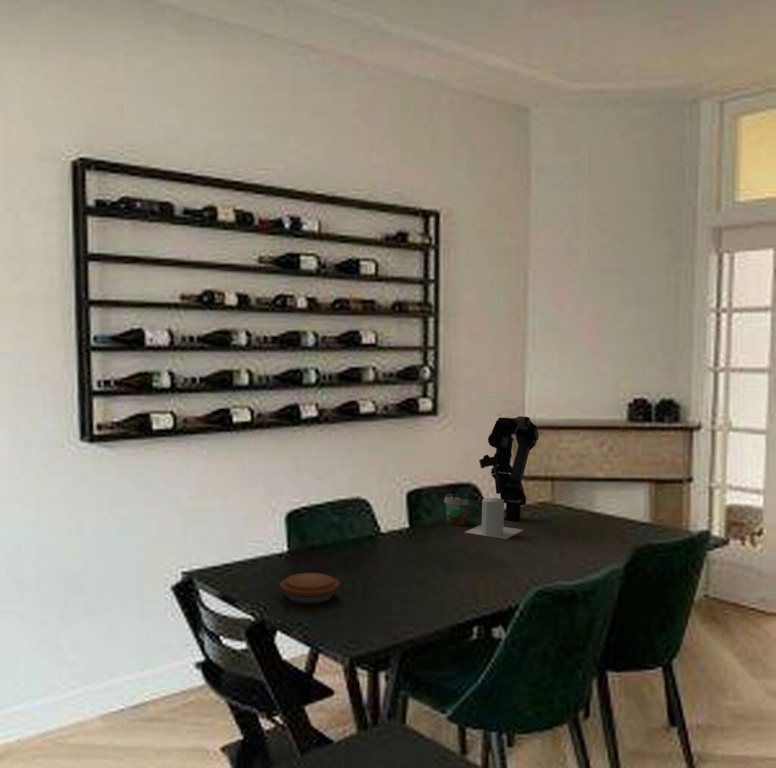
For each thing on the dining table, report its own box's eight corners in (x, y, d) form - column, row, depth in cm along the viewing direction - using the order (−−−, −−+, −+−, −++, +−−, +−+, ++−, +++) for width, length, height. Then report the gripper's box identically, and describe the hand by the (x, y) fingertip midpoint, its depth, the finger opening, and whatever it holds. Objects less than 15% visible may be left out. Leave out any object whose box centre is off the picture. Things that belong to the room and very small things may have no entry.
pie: (267, 596, 203) (268, 577, 203) (313, 584, 214) (314, 566, 214) (304, 611, 192) (305, 591, 192) (351, 597, 203) (351, 578, 203)
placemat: (482, 524, 288) (482, 523, 288) (523, 530, 280) (523, 529, 280) (464, 533, 275) (464, 532, 275) (506, 539, 266) (506, 538, 266)
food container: (437, 520, 294) (438, 494, 293) (451, 519, 296) (452, 493, 296) (453, 527, 282) (454, 500, 282) (468, 526, 285) (468, 499, 284)
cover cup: (493, 530, 279) (494, 497, 278) (507, 534, 272) (508, 500, 272) (477, 532, 275) (478, 499, 274) (491, 537, 268) (492, 502, 268)
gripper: (480, 450, 296) (475, 491, 293) (483, 445, 277) (478, 489, 275) (509, 454, 295) (504, 495, 292) (515, 450, 277) (510, 493, 274)
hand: (498, 493), depth 283 cm, fingers open, 9 cm apart
